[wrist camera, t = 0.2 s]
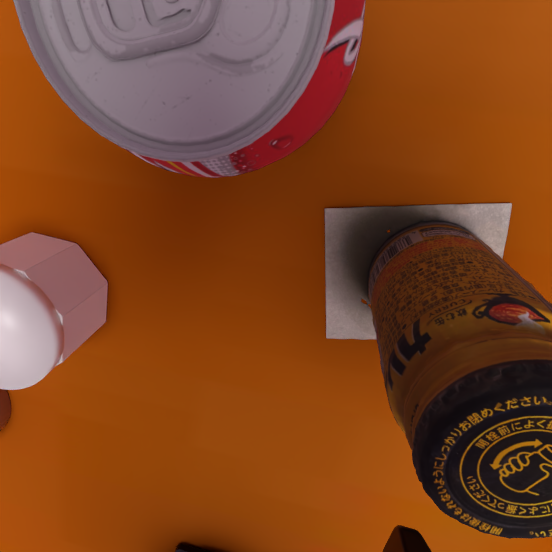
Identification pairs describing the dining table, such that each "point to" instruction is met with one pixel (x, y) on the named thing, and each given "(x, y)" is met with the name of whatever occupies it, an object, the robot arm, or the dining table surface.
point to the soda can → (198, 74)
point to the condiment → (453, 353)
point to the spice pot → (4, 408)
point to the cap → (45, 306)
